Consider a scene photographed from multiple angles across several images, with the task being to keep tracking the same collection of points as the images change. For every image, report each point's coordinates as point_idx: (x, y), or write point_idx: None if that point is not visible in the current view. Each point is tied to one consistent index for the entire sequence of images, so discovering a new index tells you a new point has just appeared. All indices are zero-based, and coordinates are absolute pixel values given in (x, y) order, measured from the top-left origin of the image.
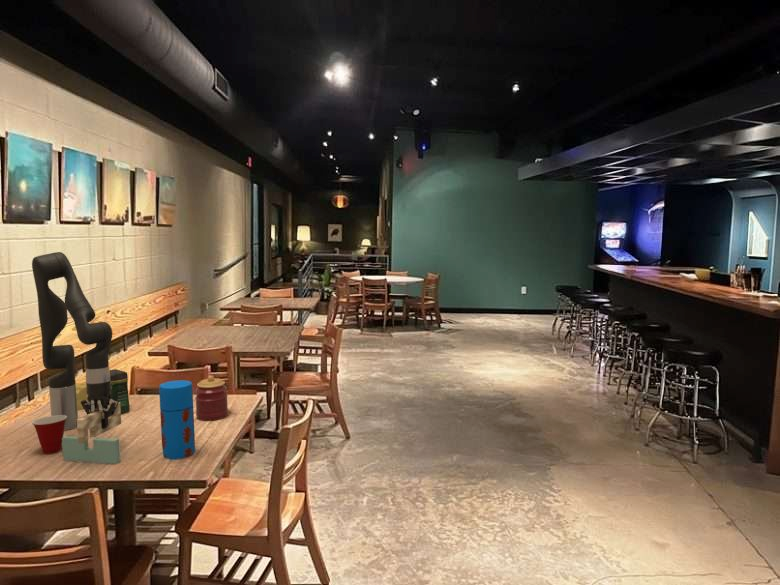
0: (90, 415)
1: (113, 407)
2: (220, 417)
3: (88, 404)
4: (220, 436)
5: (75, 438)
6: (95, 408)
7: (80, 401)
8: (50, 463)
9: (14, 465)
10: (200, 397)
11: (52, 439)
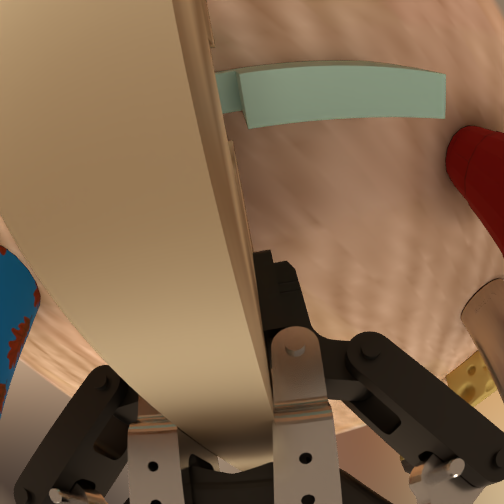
0: (91, 303)
1: (34, 465)
2: None
3: (420, 473)
4: (49, 368)
5: (337, 72)
6: (281, 466)
7: (477, 368)
8: (395, 25)
9: (490, 18)
10: None
11: (495, 152)
